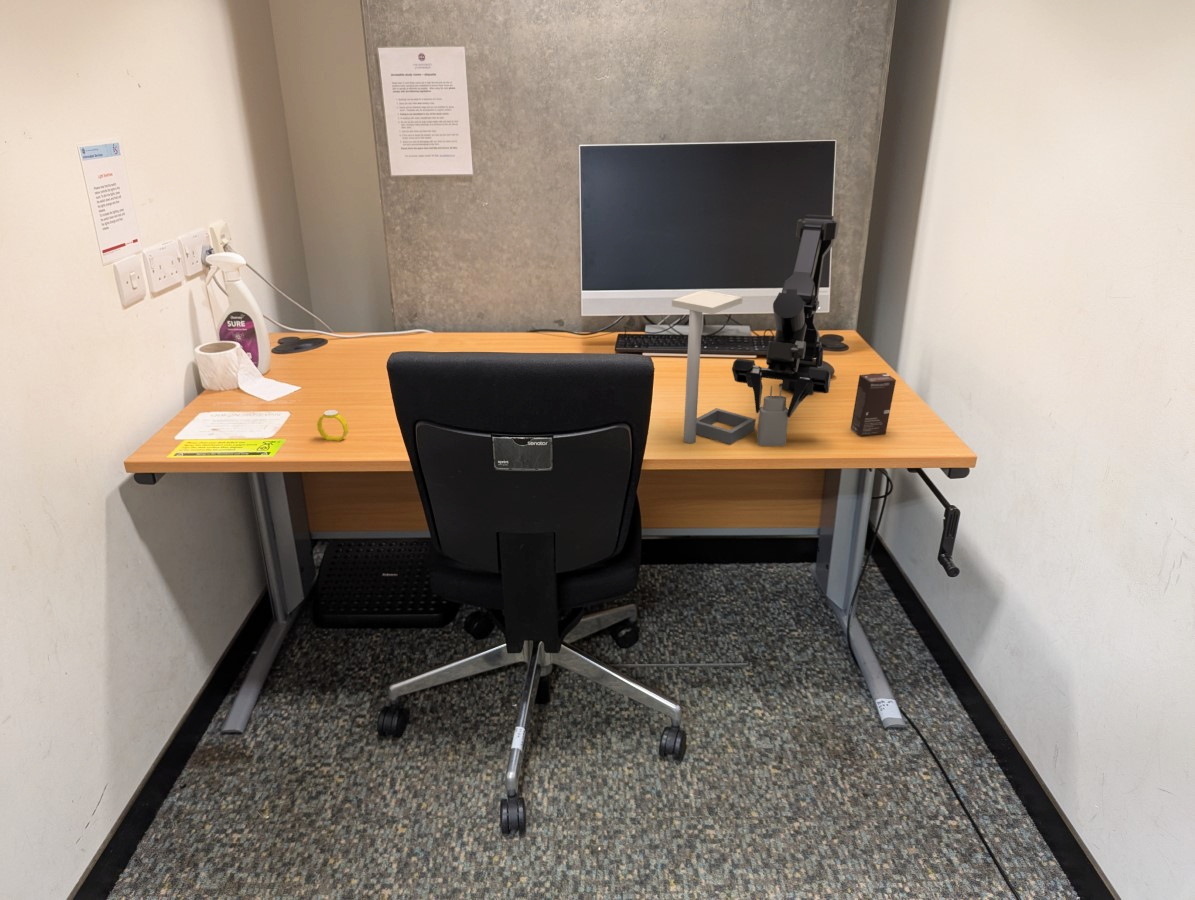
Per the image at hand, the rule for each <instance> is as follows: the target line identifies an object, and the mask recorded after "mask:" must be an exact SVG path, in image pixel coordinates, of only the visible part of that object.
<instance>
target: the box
mask: <svg viewBox="0 0 1195 900" xmlns="http://www.w3.org/2000/svg"><path fill="white" fill-rule="evenodd" d="M896 382H897V380H896V378H894V377H892V376H891V375H889V374H888V373H886V372H883V373H882V372H881V373H869V374H867V373H866V374H860V375H859V377H858V382H857V383H858V384H857V389H856V393H855V394H856V395H855V401H854V408H853V413H852V419H851V425H850V429H851V431H852V432H854V433H855V434H857V435H858V436H860V437H865V436H875V435H885V434H887V429H888V428H887V427H888V423H889V418H890V413H891V407H892V403H893V402H892V401H893V397H894V393H895V388H896V387H895V386H896Z"/></svg>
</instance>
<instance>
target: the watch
mask: <svg viewBox="0 0 1195 900" xmlns="http://www.w3.org/2000/svg"><path fill="white" fill-rule="evenodd" d="M324 418H327V419H333V418H334V419H336V420H338V421H339V423H340V424H341V426H342V429H343V434H342V436H330V435H329V434H328V433H326V432H325V430H324V427H323V420H324ZM316 423H317V424H316V426H317V431H318V433H319V435H320V436H321V438H323V439H324V440H326V441H336V442H341V441H342V440H343V439H344V438H345V437H346V436H347V435H348V432H349V425H348V422H347V421H346V419H345V418H344V417H343V416H342V415H341V414H339V411H338V410H334V409H329V410H326V411H324V412H323V414H322V415H321V416H319V418H318V420H317V422H316Z"/></svg>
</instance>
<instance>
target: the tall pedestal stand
mask: <svg viewBox="0 0 1195 900" xmlns="http://www.w3.org/2000/svg"><path fill="white" fill-rule="evenodd" d="M741 304H743V296H739V295H732V294H726V293H721V292H716V291H710V290H704V289H702V290H698V291H696V292H693V293H692V292H691V293H690V294H686V295H684V296H679V297H677V298H674V299H671V307H672V308H673V307H674V308H679V309H683V310H688V311H689V315H688V316H689V317H688V334H687V335H688V336H687V337H688V338H687V339H688V340H687V356H686V357H687V358H686V377H685V378H686V380H685V398H684V400H685V404H684V420H683V421H684V423H683V440H682V441H683V442H684V443H685V444H695V443H696V438H697V436H701V437H704V438H708V439H710V440H714V441H717V442H720V443H724V444H727V445H729V446H730V445H732V444H734V443H736V442H737V441H739V440H741V439H743V438H744V437H745V436H747V435H749V434H750V433H752V432H754V431H755V430H756V421H757V419H756V418H752V417H750V416H746V415H742V414H739V413H735V412H732V411H727V410H725V409H720V408H714V409H712V410H710V411H708V412H706V413H704V414H702V415H700V416H698V403H699V402H698V401H699V400H698V399H699V384H700V383H699V381H700V368H701V367H700V363H701V345H702V343H701V342H702V329H703V327H702V326H703V313H704V314H709V315H714V314H717V313H720V312H722V311H725V310H727V309H731V308H733V307H735V306H738V305H741ZM717 422H718V423H721V424H724V425H728V426H730V427H731V426H732V427H733V428H731V429H727V428H723V427H721V426H716V425H714V424H715V423H717Z"/></svg>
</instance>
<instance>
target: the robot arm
mask: <svg viewBox="0 0 1195 900" xmlns="http://www.w3.org/2000/svg"><path fill="white" fill-rule="evenodd" d="M796 223H797V224H796V226H797V227H796V231H795V232H796V234H795V237H796V238H799V245H798V249H797V253H796V257H795V258H796V259H795V261H794V266H793V269H792V274H791V276H790V277H789V278H787V279H786V280H785V281H784V282H783V286H782V289H781V292H778V294H777V296H776V297H775V299H774V301H773V303H772V309H773V310H772V311H773V318H774V324H775V328H776V330H775V335H774V339H773V341H769V342H768V345H767V352H766V361H765V362H766V363H765V364H766V365H767V367H761V366H760V365H756V361H755V359H754V360H753V359H747V358H737V359H735V360H734V361H733V364H732V368H731V371H732V376H733V379H734V381H735V382H736V383H741V384H746V385H747V387H749V388H751V389H752V391H753V396H754V404H755V405H754V407H755V413H756V414H759V409H760V407H761V405H762V404H761V402H762V394H763V382H762V380H763V379H771V380H778V381H779V380H780V381H782V382H781V383H779V384H778V387H780V386H782V389H784V390H786V391H788V392H789V393H792V397H791V400H790V403H789V406H788V414H787V417H788V419H790V418H791V417H792V415H793V413H794V412H795V411H796V410H797V408H798V406H799V405H800V404H801V403H802V402H803V400H805V399H806V398H807V397H808V396H813V395H814V393H817V394H818V393H820V394H829V393H830V387H831V371H830V370H829V369H828V368H824V367H823V362H824V348H823V346H822V342H821V341H820V332H819V329H818V328H817V325H816V323H815V322H816V321H815V319H816V316H817V315H816V314H817V311H818V309H819V307H820V301H819V293H820V285H821V278H822V273H823V267H824V266H823V265H824V258H825V257H826V255H827V254H828V252H829V251H830V250H831V249H832V247H833V245H834V241H835V239H837V237H838V234H839V233H838V232H839V221H837V220H835V217H834V215H824V214H823V215H822V214H821V215H820V214H819V215H818V214H805V216H804V218H803V219H801V218H800V219H798V220H797V222H796ZM822 367H823V368H822Z"/></svg>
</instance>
